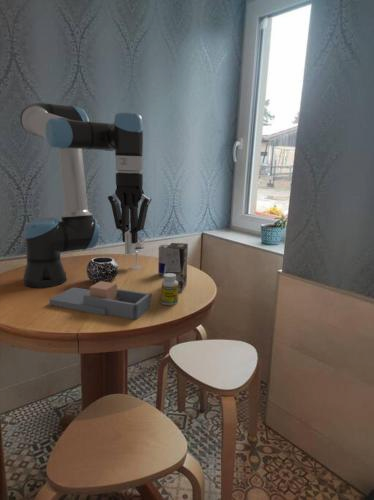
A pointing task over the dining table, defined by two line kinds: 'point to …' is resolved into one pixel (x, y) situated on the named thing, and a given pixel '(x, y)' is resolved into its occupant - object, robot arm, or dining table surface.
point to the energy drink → (162, 260)
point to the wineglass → (138, 248)
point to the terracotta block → (104, 290)
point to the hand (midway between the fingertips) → (130, 253)
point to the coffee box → (177, 263)
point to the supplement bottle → (169, 289)
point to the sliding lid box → (105, 302)
